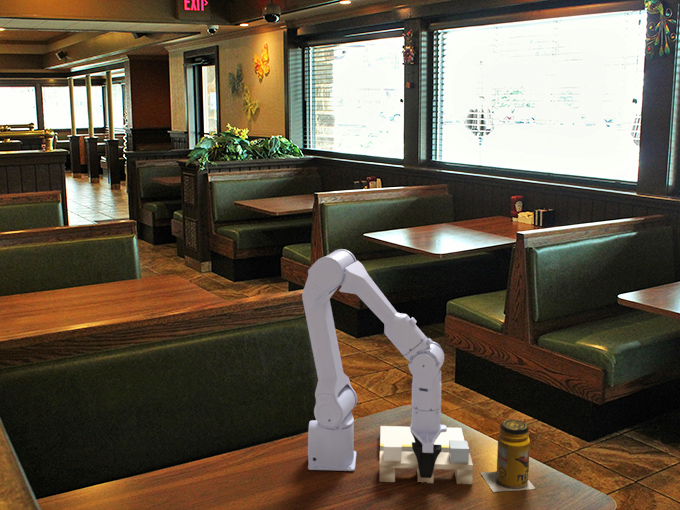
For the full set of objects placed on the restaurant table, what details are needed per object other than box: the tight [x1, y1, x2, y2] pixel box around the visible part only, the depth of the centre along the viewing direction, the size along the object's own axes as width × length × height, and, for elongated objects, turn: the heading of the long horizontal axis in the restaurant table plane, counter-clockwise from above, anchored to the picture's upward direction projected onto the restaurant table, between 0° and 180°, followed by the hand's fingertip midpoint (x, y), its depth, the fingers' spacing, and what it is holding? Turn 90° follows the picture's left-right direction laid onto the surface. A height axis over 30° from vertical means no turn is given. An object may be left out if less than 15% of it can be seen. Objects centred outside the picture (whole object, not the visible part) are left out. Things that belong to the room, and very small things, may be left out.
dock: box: [379, 425, 465, 453], centre depth 152 cm, size 18×10×2 cm, turn 86°
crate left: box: [383, 439, 402, 461], centre depth 138 cm, size 4×4×3 cm
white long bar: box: [379, 450, 474, 485], centre depth 138 cm, size 18×5×4 cm, turn 86°
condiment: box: [480, 419, 536, 493], centre depth 136 cm, size 7×8×12 cm
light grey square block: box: [449, 440, 470, 463], centre depth 137 cm, size 4×4×3 cm
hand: (425, 469), depth 139 cm, fingers closed on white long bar, 5 cm apart
